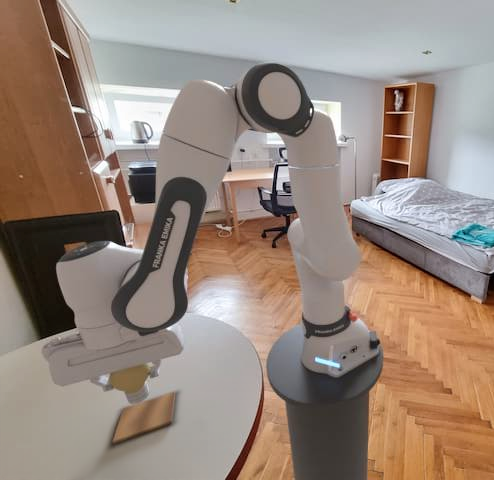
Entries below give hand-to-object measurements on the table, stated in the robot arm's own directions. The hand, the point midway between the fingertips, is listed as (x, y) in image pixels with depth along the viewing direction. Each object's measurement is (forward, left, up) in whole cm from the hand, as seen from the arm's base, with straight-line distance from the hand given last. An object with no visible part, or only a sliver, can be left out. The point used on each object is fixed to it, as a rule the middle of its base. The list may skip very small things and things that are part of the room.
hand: (133, 381), depth 59 cm
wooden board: (0, 0, -10) cm, 10 cm away
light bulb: (0, 0, -5) cm, 5 cm away
